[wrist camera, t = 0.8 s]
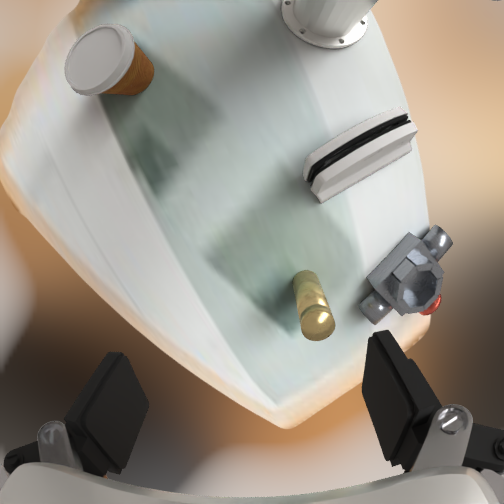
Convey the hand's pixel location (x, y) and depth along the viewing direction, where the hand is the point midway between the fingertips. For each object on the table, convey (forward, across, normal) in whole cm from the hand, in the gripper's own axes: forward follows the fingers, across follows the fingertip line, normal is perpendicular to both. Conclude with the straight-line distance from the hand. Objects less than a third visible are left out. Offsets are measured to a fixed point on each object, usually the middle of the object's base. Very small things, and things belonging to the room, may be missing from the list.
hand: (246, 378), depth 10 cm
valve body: (+31, -24, +12) cm, 41 cm away
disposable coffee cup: (+31, +15, -24) cm, 42 cm away
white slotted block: (+31, -15, -8) cm, 35 cm away
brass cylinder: (+32, -6, +11) cm, 34 cm away
